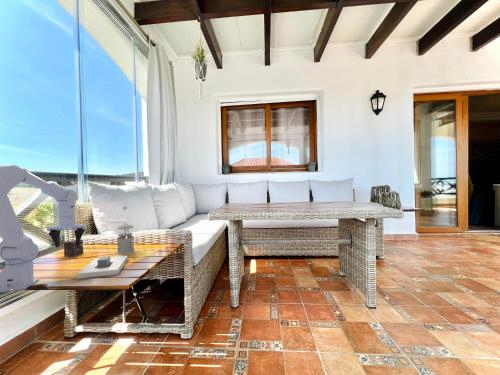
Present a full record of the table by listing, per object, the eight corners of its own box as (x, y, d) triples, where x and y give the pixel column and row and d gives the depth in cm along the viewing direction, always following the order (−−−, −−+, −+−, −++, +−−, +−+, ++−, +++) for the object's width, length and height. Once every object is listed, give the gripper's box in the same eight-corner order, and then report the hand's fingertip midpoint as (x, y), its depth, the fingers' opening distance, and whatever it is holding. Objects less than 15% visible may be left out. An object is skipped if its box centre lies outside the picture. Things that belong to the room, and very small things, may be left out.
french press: (114, 255, 121) (112, 207, 121) (117, 250, 132) (116, 206, 132) (135, 253, 125) (134, 206, 125) (136, 248, 136) (135, 205, 136)
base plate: (117, 274, 95) (117, 269, 95) (77, 278, 91) (77, 273, 91) (128, 259, 115) (127, 255, 114) (95, 262, 110) (95, 258, 110)
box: (73, 256, 121) (72, 242, 121) (63, 256, 123) (63, 242, 123) (83, 253, 127) (83, 239, 127) (74, 252, 129) (74, 239, 128)
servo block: (107, 271, 99) (106, 259, 99) (97, 272, 98) (97, 260, 98) (110, 267, 104) (110, 256, 104) (101, 268, 103) (101, 257, 103)
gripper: (88, 214, 111) (89, 242, 111) (52, 215, 107) (53, 245, 107) (83, 215, 105) (83, 246, 105) (43, 217, 100) (44, 249, 101)
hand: (67, 245), depth 106 cm, fingers open, 7 cm apart
